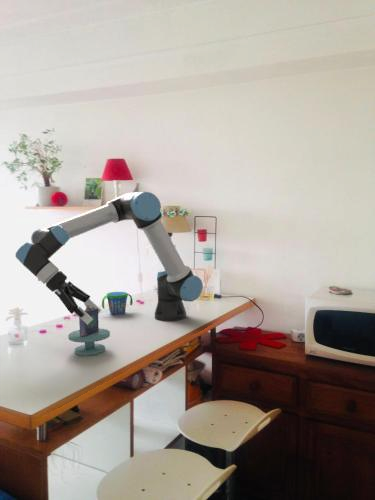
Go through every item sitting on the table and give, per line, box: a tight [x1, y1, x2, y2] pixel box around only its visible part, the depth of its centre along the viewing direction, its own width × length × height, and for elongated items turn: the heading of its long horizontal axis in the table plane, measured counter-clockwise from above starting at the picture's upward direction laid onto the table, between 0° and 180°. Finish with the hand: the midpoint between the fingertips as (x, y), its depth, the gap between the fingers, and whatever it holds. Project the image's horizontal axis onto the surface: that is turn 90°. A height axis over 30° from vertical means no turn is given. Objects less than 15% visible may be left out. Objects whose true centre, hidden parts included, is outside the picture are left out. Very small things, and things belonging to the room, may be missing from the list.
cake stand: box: [68, 327, 111, 357], centre depth 165 cm, size 15×15×6 cm
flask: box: [78, 305, 100, 337], centre depth 164 cm, size 9×3×11 cm, turn 150°
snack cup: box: [101, 291, 134, 316], centre depth 222 cm, size 16×10×10 cm
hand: (94, 317), depth 164 cm, fingers open, 13 cm apart
